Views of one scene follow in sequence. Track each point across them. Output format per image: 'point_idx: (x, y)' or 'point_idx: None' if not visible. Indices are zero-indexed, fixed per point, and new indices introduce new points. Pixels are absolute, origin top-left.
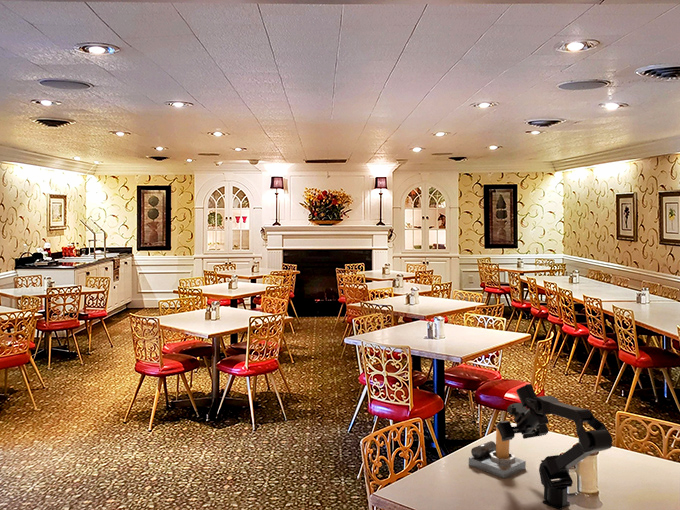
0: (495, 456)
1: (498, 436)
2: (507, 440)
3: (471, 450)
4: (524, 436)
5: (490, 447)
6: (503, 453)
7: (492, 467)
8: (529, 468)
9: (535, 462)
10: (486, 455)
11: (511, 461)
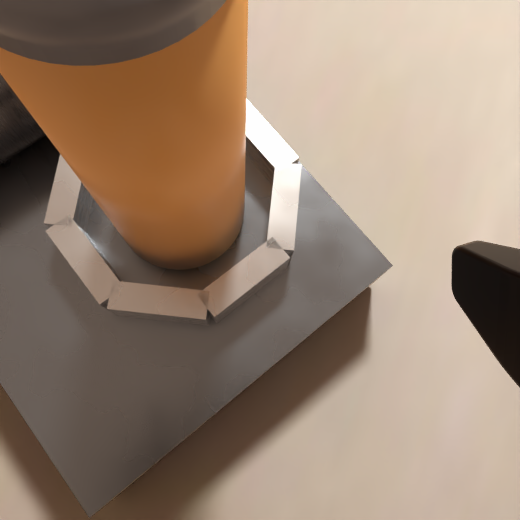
0: None
1: (24, 105)
2: (186, 170)
3: None
4: (491, 310)
5: None
6: (156, 244)
7: (13, 393)
8: (410, 264)
9: (489, 152)
10: None
11: (238, 303)
